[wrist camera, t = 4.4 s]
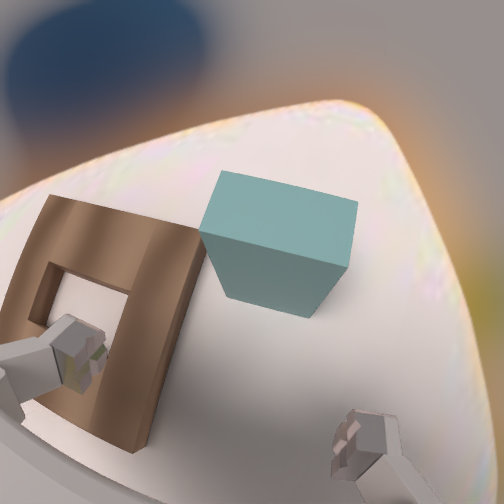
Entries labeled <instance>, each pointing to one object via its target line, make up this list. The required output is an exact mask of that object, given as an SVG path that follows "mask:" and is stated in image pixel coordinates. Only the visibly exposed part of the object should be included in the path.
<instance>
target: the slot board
mask: <svg viewBox="0 0 504 504" xmlns="http://www.w3.org/2000/svg"><path fill="white" fill-rule="evenodd" d="M198 230H199V229H196V228H191V227H187V226H183V225H179V224H175V223H171V222H166V221H162V220H158V219H154V218H150V217H145V216H141V215H137V214H133V213H128V212H124V211H120V210H116V209H111V208H107V207H103V206H99V205H94V204H90V203H86V202H81V201H77V200H73V199H68V198H64V197H60V196H55V195H51V194H49V196H48V198H47V200H46V202H45V204H44V206H43V208H42V210H41V212H40V214H39V216H38V218H37V220H36V222H35V225H34V227H33V229H32V231H31V233H30V235H29V238H28V240H27V242H26V244H25V247H24V249H23V251H22V254H21V256H20V259H19V261H18V264H17V266H16V269H15V271H14V274H13V276H12V279H11V282H10V285H9V287H8V290H7V293H6V296H5V299H4V302H3V305H2V308H1V311H0V345H2V344H6V343H10V342H14V341H19V340H23V339H27V338H31V337H36V338H39V337H40V336H41V335H42V334H43V333H44V332H45V331H46V330H47V329H49V328H48V327H47V326H45V324H46V321H47V318H48V315H49V312H50V309H51V307H52V304H53V301H54V298H55V295H56V293H57V290H58V287H59V284H60V282H61V279H62V277H63V274H64V272H68V273H70V274H73V275H76V276H78V277H81V278H83V279H86V280H89V281H91V282H94V283H97V284H99V285H102V286H105V287H108V288H110V289H113V290H116V291H119V292H122V293H124V294H127V295H129V296H128V299H127V302H126V304H125V307H124V310H123V313H122V316H121V319H120V322H119V325H118V328H117V331H116V334H115V337H114V340H113V343H112V346H111V349H110V352H109V356H107V360H106V363H105V365H104V368H103V369H102V371H101V372H100V373H99V374H97V375H94V376H92V383H91V384H90V386H89V387H88V388H87V389H86V391H85V392H84V393H83V394H82V395H81V394H79V393H77V392H75V391H73V390H71V389H70V388H68V387H66V386H64V385H62V386H61V387H58V388H56V389H54V390H52V391H49V392H47V393H45V394H42V395H40V396H38V397H35V398H33V399H34V400H35V401H37V402H38V403H40V404H41V405H43V406H45V407H46V408H48V409H49V410H51V411H52V412H54V413H56V414H57V415H59V416H61V417H62V418H64V419H66V420H67V421H69V422H71V423H73V424H74V425H76V426H78V427H80V428H81V429H83V430H85V431H87V432H89V433H91V434H92V435H94V436H96V437H98V438H100V439H102V440H104V441H106V442H108V443H110V444H112V445H114V446H116V447H118V448H121V449H123V450H125V451H127V452H129V453H131V454H133V453H135V452H137V451H139V450H141V449H142V448H144V447H145V446H146V442H147V439H148V435H149V431H150V428H151V424H152V421H153V417H154V414H155V410H156V407H157V404H158V400H159V397H160V393H161V390H162V387H163V383H164V380H165V377H166V373H167V370H168V367H169V364H170V360H171V357H172V354H173V351H174V348H175V344H176V341H177V338H178V335H179V332H180V329H181V326H182V322H183V319H184V316H185V313H186V310H187V307H188V304H189V301H190V298H191V295H192V292H193V289H194V286H195V283H196V280H197V277H198V274H199V271H200V269H201V266H202V263H203V260H204V257H205V254H206V251H207V250H206V248H205V245H204V243H203V240H202V238H201V236H200V233H199V231H198Z"/></svg>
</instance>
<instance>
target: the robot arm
mask: <svg viewBox="0 0 504 504" xmlns="http://www.w3.org/2000/svg"><path fill="white" fill-rule="evenodd" d="M105 340H106V337H105V332H104V331H103V330H101V329H99V328H97V327H95V326H93V325H91V324H89V323H87V322H85V321H83V320H81V319H78V318H76V317H74V316H72V315H70V314H65V315H63V316H62V317H61V318H60V319H59V320H58V321H56V322H55V323H54V324H53V325H52V326H51V327H50V328H49V329H47V330H46V331H45V332H44V333H43V334H42V335H41V336H40V337H39V338H36V337H31V338H27V339H23V340H19V341H14V342H10V343H6V344H2V345H0V504H166V503H164V502H161V501H158V500H156V499H153V498H151V497H148V496H146V495H144V494H141V493H139V492H137V491H134V490H132V489H130V488H128V487H126V486H123V485H121V484H119V483H117V482H115V481H113V480H111V479H109V478H107V477H105V476H103V475H101V474H99V473H97V472H95V471H94V470H92V469H90V468H88V467H86V466H84V465H83V464H81V463H79V462H77V461H76V460H74V459H72V458H71V457H69V456H67V455H66V454H64V453H62V452H61V451H59V450H58V449H56V448H54V447H53V446H51V445H50V444H48V443H47V442H45V441H44V440H42V439H41V438H39V437H38V436H36V435H35V434H33V433H32V432H31V431H29V430H28V429H26V428H25V427H24V426H22V425H21V423H22V422H23V420H24V419H25V414H24V412H23V410H22V408H21V406H20V404H21V403H23V402H26V401H28V400H30V399H33V398H35V397H38V396H40V395H42V394H45V393H47V392H49V391H52V390H54V389H56V388H58V387H61V386H62V385H64V386H66V387H68V388H70V389H71V390H73V391H75V392H77V393H79V394H81V395H82V394H83V393H84V392H85V391H86V389H87V388H88V387H89V386H90V384H91V383H92V376H94V375H97V374H99V373H100V372H101V371H102V369H103V368H104V365H105V363H106V360H107V349H106V347H105V346H104V344H103V342H104V341H105ZM333 451H334V452H335V454H336V457H335V458H334V459H333V460H332V468H331V478H337V479H344V480H351V481H355V484H356V486H357V488H358V490H359V492H360V494H361V496H362V498H363V499H364V501H365V503H366V504H443V502H442V501H441V500H440V499H439V497H438V496H437V495H436V494H435V492H434V491H433V490H432V488H431V487H430V486H429V485H428V483H427V482H426V481H425V480H424V478H423V477H422V476H421V475H420V473H419V472H418V471H417V469H416V468H415V467H414V466H413V464H412V463H411V462H410V461H409V459H408V458H407V457H406V456H402V448H401V441H400V433H399V426H398V419H397V417H396V416H394V415H387V414H380V413H375V412H368V411H362V410H357V409H352V410H351V411H350V412H349V413H348V415H347V421H346V422H344V423H342V424H341V425H340V426H339V428H338V429H337V431H336V434H335V436H334V441H333Z"/></svg>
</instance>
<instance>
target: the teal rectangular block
mask: <svg viewBox="0 0 504 504" xmlns="http://www.w3.org/2000/svg"><path fill="white" fill-rule="evenodd" d="M357 207H358V202H357V201H353V200H349V199H346V198H342V197H338V196H334V195H330V194H326V193H322V192H318V191H314V190H310V189H306V188H301V187H297V186H293V185H289V184H284V183H280V182H275V181H271V180H266V179H262V178H257V177H252V176H247V175H243V174H238V173H233V172H228V171H223V170H222V171H221V173H220V176H219V178H218V181H217V183H216V186H215V189H214V191H213V194H212V196H211V199H210V201H209V204H208V206H207V209H206V212H205V214H204V217H203V220H202V222H201V225H200V227H199V230H198V231H199V233H200V236H201V238H202V240H203V243H204V245H205V248H206V250H207V252H208V255H209V257H210V259H211V262H212V264H213V266H214V269H215V271H216V273H217V276H218V278H219V280H220V283H221V285H222V287H223V290H224V292H225V294H226V296H227V297H228V298H232V299H236V300H239V301H243V302H247V303H251V304H254V305H258V306H262V307H266V308H270V309H274V310H277V311H281V312H285V313H289V314H293V315H297V316H301V317H305V318H310V316H311V315H312V314H313V313H314V311H315V310H316V309H317V308H318V306H319V305H320V304H321V303H322V301H323V300H324V299H325V297H326V296H327V295H328V293H329V292H330V291H331V290H332V288H333V287H334V286H335V284H336V283H337V282H338V280H339V279H340V278H341V276H342V275H343V274H344V272H345V271H346V270H347V268H348V265H349V259H350V253H351V247H352V241H353V235H354V228H355V221H356V215H357Z"/></svg>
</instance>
